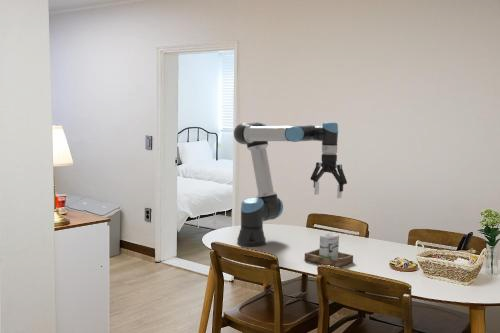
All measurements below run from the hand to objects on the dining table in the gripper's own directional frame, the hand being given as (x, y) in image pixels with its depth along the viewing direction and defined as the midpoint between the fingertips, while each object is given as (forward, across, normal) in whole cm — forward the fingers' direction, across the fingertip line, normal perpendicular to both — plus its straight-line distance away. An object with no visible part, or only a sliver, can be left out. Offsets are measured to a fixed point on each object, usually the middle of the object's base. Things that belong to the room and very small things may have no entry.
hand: (327, 196), depth 262 cm
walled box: (+29, +10, -12) cm, 33 cm away
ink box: (+28, +10, -12) cm, 32 cm away
